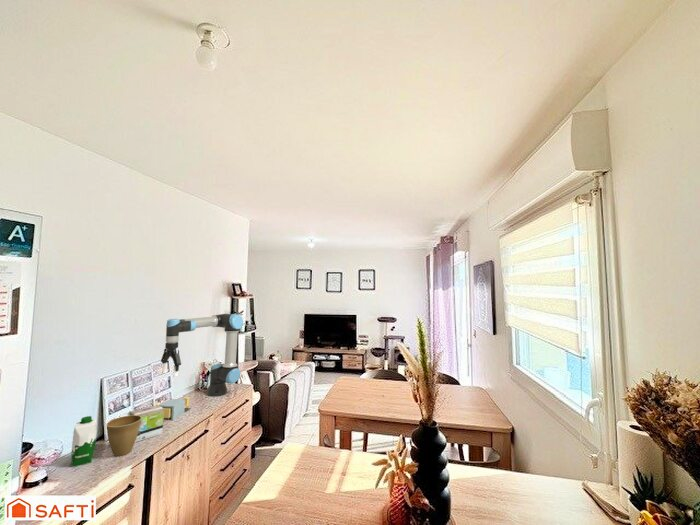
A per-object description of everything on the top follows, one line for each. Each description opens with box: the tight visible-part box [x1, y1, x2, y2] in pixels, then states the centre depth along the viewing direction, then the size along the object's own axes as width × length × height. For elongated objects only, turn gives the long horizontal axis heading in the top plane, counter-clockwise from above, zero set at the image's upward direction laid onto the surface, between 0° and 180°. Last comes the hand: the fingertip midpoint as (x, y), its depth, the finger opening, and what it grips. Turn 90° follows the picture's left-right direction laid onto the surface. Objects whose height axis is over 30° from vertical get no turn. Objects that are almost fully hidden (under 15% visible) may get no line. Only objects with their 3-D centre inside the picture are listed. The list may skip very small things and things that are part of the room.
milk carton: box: [71, 415, 98, 468], centre depth 152 cm, size 9×9×20 cm
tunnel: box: [158, 398, 192, 423], centre depth 208 cm, size 33×10×9 cm, turn 176°
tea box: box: [128, 404, 165, 443], centre depth 179 cm, size 15×10×15 cm, turn 143°
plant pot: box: [106, 415, 142, 457], centre depth 161 cm, size 15×15×16 cm
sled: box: [164, 396, 191, 419], centre depth 212 cm, size 24×6×6 cm, turn 176°
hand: (170, 374), depth 207 cm, fingers open, 13 cm apart
